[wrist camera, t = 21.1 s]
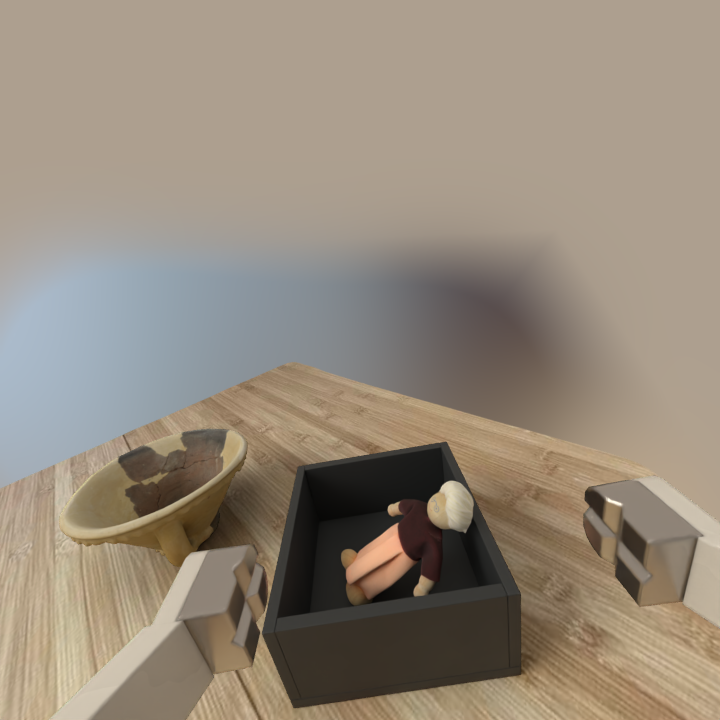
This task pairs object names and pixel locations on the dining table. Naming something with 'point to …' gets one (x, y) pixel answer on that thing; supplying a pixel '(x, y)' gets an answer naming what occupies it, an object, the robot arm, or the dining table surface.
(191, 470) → the bowl
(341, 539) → the open square box
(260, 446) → the dining table surface
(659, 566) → the robot arm
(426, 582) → the grandmother figurine
